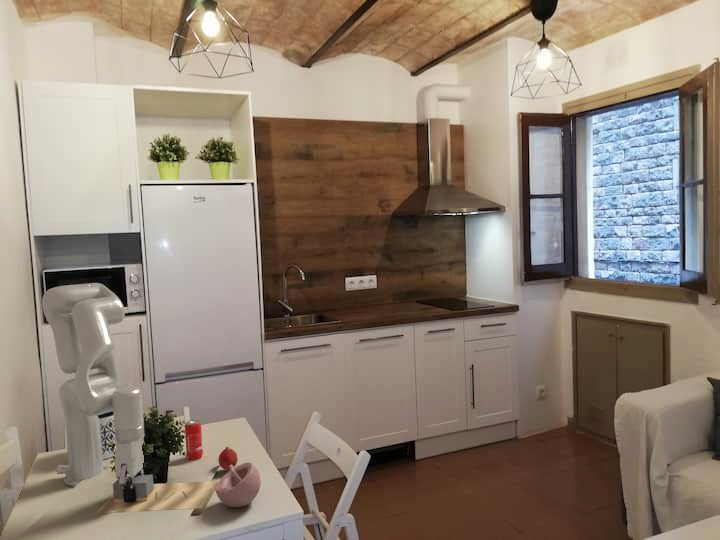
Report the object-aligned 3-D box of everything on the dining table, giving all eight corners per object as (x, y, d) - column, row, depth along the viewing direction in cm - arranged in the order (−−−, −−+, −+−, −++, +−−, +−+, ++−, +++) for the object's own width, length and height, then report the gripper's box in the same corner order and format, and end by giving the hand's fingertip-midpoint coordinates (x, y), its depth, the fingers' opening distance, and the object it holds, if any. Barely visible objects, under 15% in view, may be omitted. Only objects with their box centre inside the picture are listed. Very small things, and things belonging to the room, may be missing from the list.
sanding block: (114, 502, 150) (112, 484, 150) (122, 493, 155) (120, 476, 155) (147, 500, 150) (145, 482, 150) (153, 491, 155) (152, 474, 155)
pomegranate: (216, 470, 172) (214, 445, 171) (233, 465, 175) (231, 441, 174) (223, 476, 167) (222, 451, 166) (241, 471, 170) (239, 446, 170)
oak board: (95, 518, 145) (95, 513, 145) (121, 490, 161) (121, 485, 161) (202, 513, 145) (201, 508, 145) (217, 485, 161) (217, 480, 161)
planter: (64, 460, 186) (60, 419, 185) (99, 442, 201) (96, 404, 200) (102, 464, 181) (99, 421, 180) (135, 445, 196) (132, 406, 195)
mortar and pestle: (214, 499, 153) (211, 459, 152) (257, 490, 157) (255, 451, 156) (219, 520, 141) (216, 476, 141) (265, 509, 145) (263, 467, 145)
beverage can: (189, 462, 179) (187, 426, 178) (184, 457, 183) (182, 422, 183) (205, 457, 182) (203, 422, 182) (199, 453, 186) (197, 418, 186)
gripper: (128, 422, 160) (133, 483, 161) (101, 445, 143) (107, 512, 144) (154, 421, 160) (158, 482, 161) (130, 443, 143) (135, 511, 144)
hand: (134, 495), depth 153 cm, fingers closed on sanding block, 5 cm apart
